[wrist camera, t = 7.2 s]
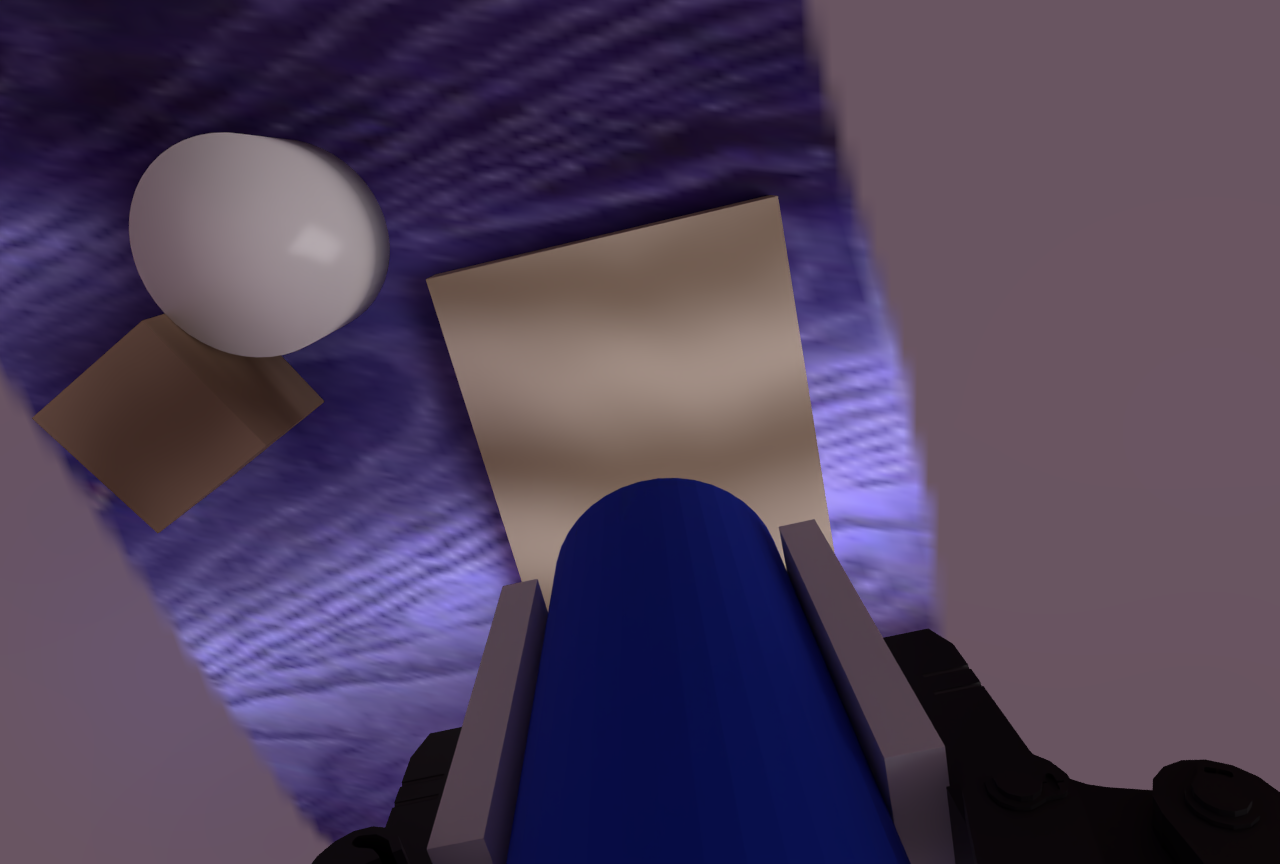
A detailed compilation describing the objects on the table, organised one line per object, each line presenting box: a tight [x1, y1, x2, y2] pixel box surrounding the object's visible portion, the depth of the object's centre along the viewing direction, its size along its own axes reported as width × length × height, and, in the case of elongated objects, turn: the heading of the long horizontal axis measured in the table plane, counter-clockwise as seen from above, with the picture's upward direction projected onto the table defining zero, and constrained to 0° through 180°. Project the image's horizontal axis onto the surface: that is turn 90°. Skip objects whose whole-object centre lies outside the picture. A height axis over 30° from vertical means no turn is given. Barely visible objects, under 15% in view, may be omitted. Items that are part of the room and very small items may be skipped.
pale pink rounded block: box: [129, 132, 390, 357], centre depth 22 cm, size 6×6×4 cm
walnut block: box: [32, 314, 324, 533], centre depth 23 cm, size 4×4×4 cm
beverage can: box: [506, 478, 911, 864], centre depth 10 cm, size 5×5×15 cm
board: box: [426, 195, 834, 611], centre depth 25 cm, size 14×11×1 cm
